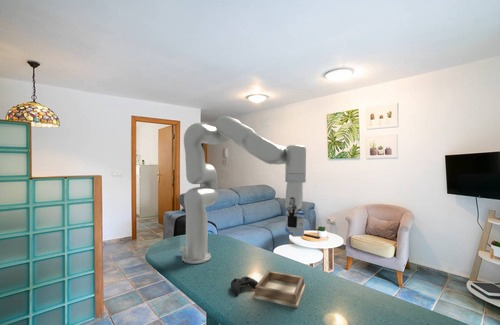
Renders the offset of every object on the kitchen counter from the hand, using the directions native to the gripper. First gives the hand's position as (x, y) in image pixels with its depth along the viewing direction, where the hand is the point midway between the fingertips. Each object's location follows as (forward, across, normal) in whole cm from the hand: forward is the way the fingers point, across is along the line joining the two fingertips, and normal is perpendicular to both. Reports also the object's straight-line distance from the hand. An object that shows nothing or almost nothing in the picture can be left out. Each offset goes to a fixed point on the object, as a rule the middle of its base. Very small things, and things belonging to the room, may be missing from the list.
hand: (294, 224), depth 91 cm
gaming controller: (+21, +14, -14) cm, 29 cm away
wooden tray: (+20, +12, -2) cm, 23 cm away
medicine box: (+4, 0, 0) cm, 4 cm away
